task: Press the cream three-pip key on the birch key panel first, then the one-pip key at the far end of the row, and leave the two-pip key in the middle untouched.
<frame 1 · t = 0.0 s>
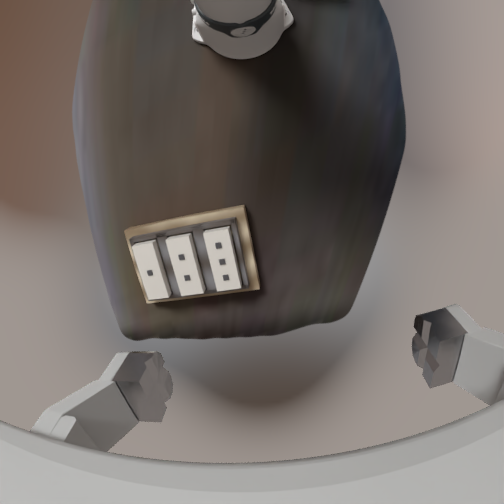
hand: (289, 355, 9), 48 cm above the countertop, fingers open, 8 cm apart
key one: (151, 270, 55), point 5 cm above the countertop, slide at 0.0 cm
key three: (223, 259, 54), point 5 cm above the countertop, slide at 0.0 cm
key two: (185, 265, 55), point 5 cm above the countertop, slide at 0.0 cm
key panel: (192, 255, 60), on the countertop
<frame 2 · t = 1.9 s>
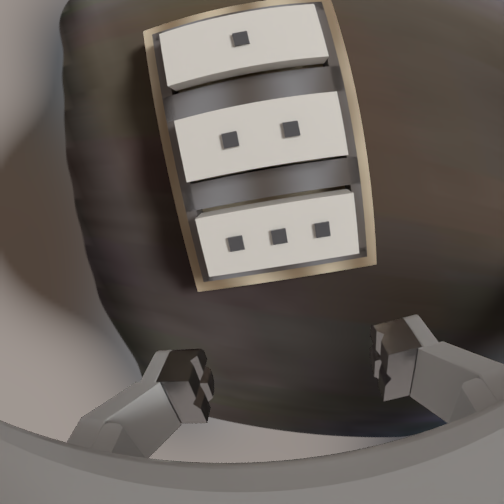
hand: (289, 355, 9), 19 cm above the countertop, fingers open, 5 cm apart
key one: (242, 43, 17), point 5 cm above the countertop, slide at 0.0 cm
key three: (278, 232, 22), point 5 cm above the countertop, slide at 0.0 cm
key two: (261, 134, 20), point 5 cm above the countertop, slide at 0.0 cm
key panel: (263, 137, 25), on the countertop
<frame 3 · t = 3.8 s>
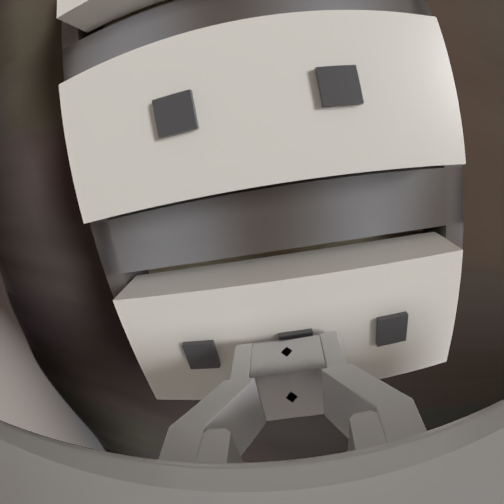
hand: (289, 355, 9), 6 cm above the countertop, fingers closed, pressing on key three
key three: (295, 327, 10), point 5 cm above the countertop, slide at 0.2 cm, touching gripper
key two: (258, 101, 7), point 5 cm above the countertop, slide at 0.0 cm
key panel: (264, 119, 12), on the countertop
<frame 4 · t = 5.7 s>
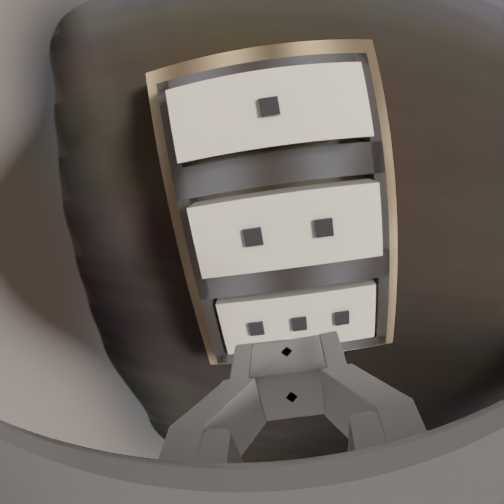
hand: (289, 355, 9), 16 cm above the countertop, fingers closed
key one: (269, 108, 16), point 5 cm above the countertop, slide at 0.0 cm
key three: (298, 316, 22), point 4 cm above the countertop, slide at 1.5 cm
key two: (288, 227, 18), point 5 cm above the countertop, slide at 0.0 cm
key panel: (284, 209, 23), on the countertop
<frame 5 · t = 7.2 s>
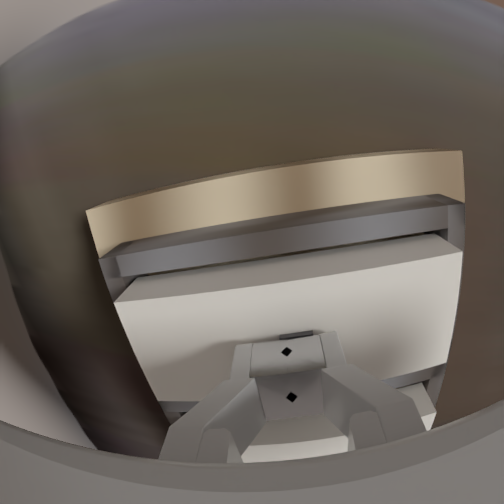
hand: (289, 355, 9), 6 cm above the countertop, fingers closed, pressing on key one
key one: (295, 329, 10), point 5 cm above the countertop, slide at 0.3 cm, touching gripper
key two: (309, 450, 12), point 5 cm above the countertop, slide at 0.0 cm
key panel: (303, 377, 17), on the countertop
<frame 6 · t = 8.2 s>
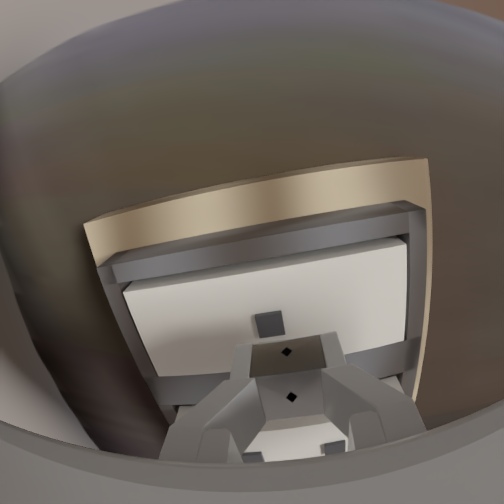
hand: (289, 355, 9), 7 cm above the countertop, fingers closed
key one: (270, 311, 12), point 4 cm above the countertop, slide at 1.5 cm
key two: (292, 439, 13), point 5 cm above the countertop, slide at 0.0 cm
key panel: (288, 373, 18), on the countertop
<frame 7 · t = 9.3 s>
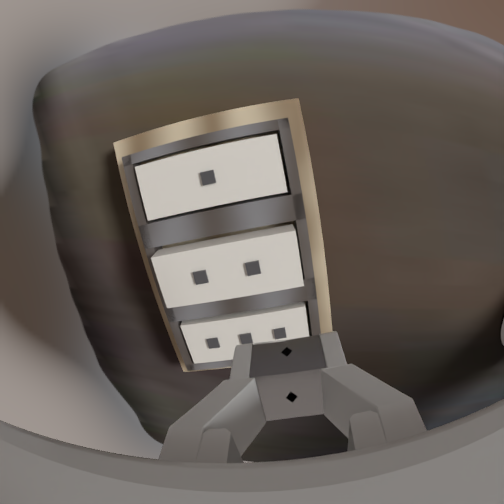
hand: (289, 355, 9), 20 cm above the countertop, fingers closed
key one: (210, 176, 23), point 4 cm above the countertop, slide at 1.5 cm
key three: (246, 332, 27), point 4 cm above the countertop, slide at 1.5 cm
key two: (227, 267, 24), point 5 cm above the countertop, slide at 0.0 cm
key panel: (232, 246, 29), on the countertop
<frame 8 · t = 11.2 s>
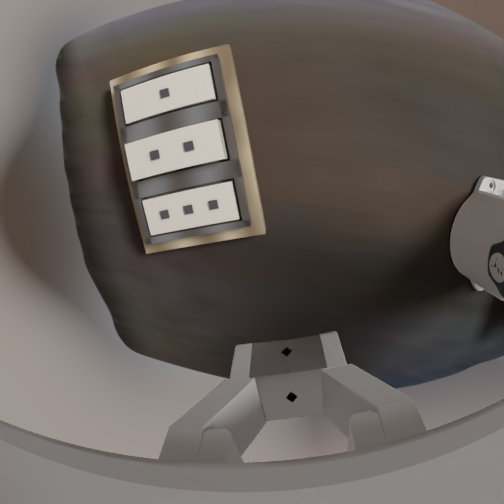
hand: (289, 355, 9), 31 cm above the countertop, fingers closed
key one: (167, 94, 31), point 4 cm above the countertop, slide at 1.5 cm
key three: (190, 207, 35), point 4 cm above the countertop, slide at 1.5 cm
key two: (174, 150, 32), point 5 cm above the countertop, slide at 0.0 cm
key panel: (187, 149, 37), on the countertop
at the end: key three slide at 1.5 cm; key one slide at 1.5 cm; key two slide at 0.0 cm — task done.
